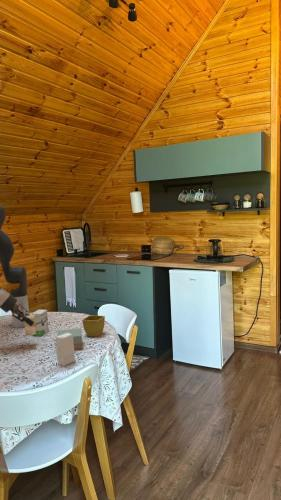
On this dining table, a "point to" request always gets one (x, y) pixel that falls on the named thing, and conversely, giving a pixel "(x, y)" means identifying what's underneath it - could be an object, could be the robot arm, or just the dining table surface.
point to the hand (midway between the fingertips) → (33, 322)
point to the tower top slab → (76, 334)
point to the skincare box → (65, 349)
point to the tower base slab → (78, 346)
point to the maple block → (30, 329)
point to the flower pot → (93, 325)
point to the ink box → (41, 322)
